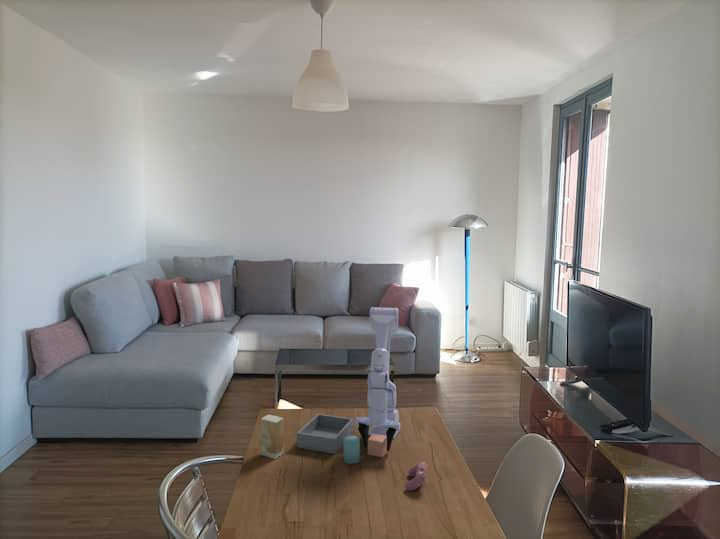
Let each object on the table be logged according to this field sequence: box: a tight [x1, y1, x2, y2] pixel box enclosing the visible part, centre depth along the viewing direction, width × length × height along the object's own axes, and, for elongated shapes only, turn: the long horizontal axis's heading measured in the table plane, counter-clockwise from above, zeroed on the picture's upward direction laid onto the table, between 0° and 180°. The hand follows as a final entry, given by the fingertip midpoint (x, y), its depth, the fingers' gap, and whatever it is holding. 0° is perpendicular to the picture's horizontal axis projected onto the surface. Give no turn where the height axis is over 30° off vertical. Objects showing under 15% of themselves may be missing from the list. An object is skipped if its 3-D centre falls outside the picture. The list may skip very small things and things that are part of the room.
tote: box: [296, 413, 355, 455], centre depth 187 cm, size 14×18×5 cm
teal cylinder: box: [343, 435, 361, 465], centre depth 173 cm, size 5×5×7 cm
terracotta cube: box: [367, 434, 388, 458], centre depth 178 cm, size 5×5×5 cm
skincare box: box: [260, 414, 285, 460], centre depth 175 cm, size 6×4×12 cm
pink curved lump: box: [404, 461, 429, 492], centre depth 159 cm, size 10×5×7 cm, turn 169°
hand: (377, 448), depth 178 cm, fingers open, 7 cm apart
